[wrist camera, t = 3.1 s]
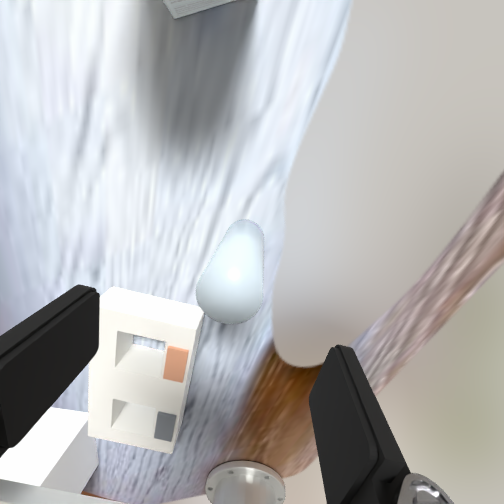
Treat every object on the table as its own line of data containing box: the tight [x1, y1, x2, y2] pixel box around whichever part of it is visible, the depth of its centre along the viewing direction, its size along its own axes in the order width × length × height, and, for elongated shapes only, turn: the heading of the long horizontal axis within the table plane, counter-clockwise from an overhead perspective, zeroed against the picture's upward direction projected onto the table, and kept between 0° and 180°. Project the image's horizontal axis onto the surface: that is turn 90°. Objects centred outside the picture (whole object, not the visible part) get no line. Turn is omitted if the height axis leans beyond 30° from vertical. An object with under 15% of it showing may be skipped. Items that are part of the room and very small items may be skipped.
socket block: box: [88, 287, 204, 454], centre depth 30 cm, size 20×11×4 cm, turn 166°
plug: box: [196, 220, 264, 324], centre depth 20 cm, size 4×4×12 cm
